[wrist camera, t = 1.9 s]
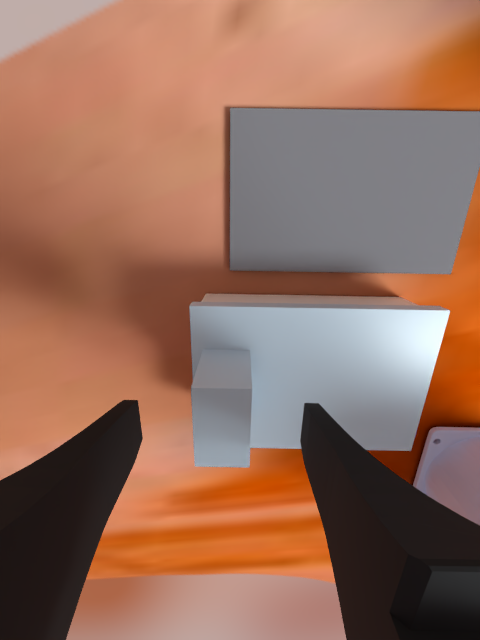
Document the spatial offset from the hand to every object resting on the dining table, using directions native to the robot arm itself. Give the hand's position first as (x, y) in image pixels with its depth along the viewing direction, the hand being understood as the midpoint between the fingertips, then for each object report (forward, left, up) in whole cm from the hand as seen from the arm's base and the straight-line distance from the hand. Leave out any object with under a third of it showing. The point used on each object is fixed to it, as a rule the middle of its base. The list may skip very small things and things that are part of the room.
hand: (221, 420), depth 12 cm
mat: (+9, -7, -7) cm, 13 cm away
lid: (0, -5, -4) cm, 6 cm away
